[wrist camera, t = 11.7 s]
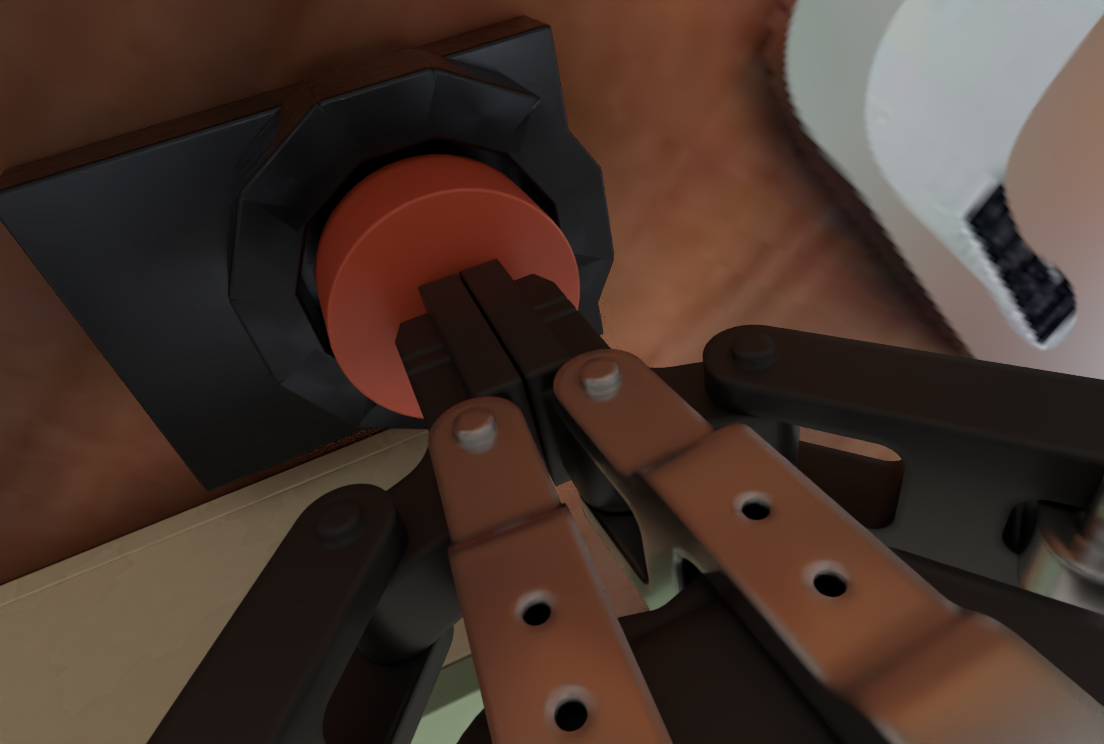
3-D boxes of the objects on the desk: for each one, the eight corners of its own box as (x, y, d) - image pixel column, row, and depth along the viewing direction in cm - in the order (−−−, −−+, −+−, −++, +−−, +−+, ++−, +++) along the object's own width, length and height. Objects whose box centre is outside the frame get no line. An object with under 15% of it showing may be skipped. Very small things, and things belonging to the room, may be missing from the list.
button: (365, 397, 15) (382, 455, 14) (271, 200, 12) (278, 245, 11) (560, 321, 16) (597, 366, 15) (517, 120, 13) (557, 150, 12)
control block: (207, 456, 18) (205, 553, 16) (-12, 153, 13) (-71, 220, 10) (583, 309, 20) (638, 373, 18) (523, -4, 15) (589, 19, 12)
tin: (176, 766, 24) (162, 1049, 18) (-38, 599, 18) (-168, 956, 12) (529, 601, 27) (617, 802, 21) (455, 401, 20) (553, 612, 14)
